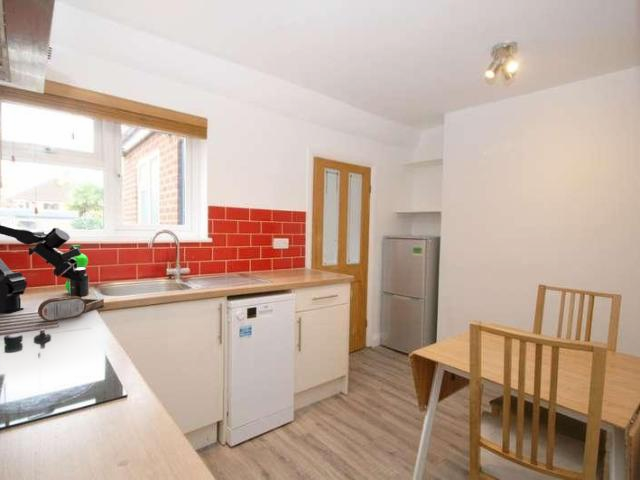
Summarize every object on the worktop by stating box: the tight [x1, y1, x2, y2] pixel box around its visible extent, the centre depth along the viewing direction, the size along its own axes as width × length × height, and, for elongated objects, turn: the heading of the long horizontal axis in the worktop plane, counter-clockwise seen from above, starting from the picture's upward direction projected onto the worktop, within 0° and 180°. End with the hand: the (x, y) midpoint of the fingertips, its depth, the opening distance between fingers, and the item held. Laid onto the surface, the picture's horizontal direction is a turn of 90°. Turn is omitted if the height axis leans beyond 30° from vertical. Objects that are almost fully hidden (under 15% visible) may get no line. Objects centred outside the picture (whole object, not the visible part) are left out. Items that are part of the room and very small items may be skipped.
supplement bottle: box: [69, 267, 90, 298], centre depth 144 cm, size 7×7×12 cm
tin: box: [37, 295, 86, 322], centre depth 130 cm, size 15×3×8 cm, turn 141°
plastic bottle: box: [64, 244, 89, 293], centre depth 174 cm, size 10×10×25 cm
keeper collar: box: [81, 297, 105, 314], centre depth 145 cm, size 12×12×3 cm
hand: (83, 279), depth 145 cm, fingers closed on supplement bottle, 7 cm apart
